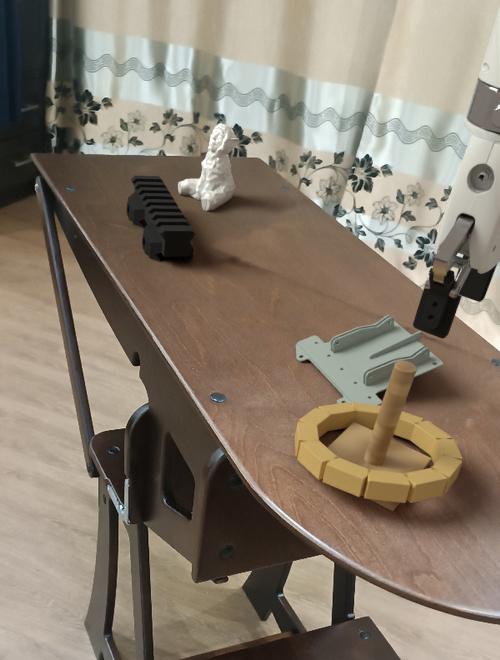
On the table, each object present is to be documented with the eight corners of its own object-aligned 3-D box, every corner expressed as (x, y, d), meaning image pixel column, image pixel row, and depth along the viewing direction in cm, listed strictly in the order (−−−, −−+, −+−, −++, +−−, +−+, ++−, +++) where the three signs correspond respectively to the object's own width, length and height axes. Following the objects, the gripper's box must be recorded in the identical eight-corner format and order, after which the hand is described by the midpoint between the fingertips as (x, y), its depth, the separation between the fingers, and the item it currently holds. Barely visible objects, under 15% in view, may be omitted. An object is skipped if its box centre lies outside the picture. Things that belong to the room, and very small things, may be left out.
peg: (428, 467, 73) (469, 367, 65) (392, 511, 67) (433, 407, 59) (351, 430, 77) (382, 330, 69) (311, 469, 71) (339, 365, 63)
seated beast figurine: (174, 192, 123) (180, 116, 115) (214, 186, 127) (222, 113, 119) (205, 212, 118) (214, 134, 110) (246, 206, 122) (257, 130, 114)
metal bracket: (387, 294, 89) (463, 357, 79) (386, 333, 93) (457, 397, 83) (286, 335, 86) (351, 404, 77) (289, 372, 91) (351, 443, 81)
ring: (475, 454, 74) (480, 437, 73) (422, 523, 62) (428, 504, 61) (336, 405, 81) (340, 389, 79) (266, 459, 69) (268, 441, 68)
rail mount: (123, 207, 115) (124, 175, 112) (162, 208, 117) (164, 176, 114) (150, 265, 100) (153, 230, 97) (195, 265, 102) (198, 231, 99)
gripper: (534, 147, 48) (453, 364, 60) (592, 107, 60) (515, 297, 71) (431, 120, 51) (373, 332, 63) (506, 86, 62) (445, 272, 74)
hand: (449, 313), depth 67 cm, fingers open, 9 cm apart
